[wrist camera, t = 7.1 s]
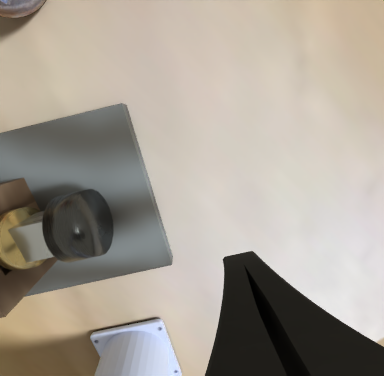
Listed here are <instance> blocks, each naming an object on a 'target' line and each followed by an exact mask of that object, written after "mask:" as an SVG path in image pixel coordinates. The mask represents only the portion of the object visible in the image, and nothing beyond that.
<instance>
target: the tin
mask: <svg viewBox="0 0 384 376" xmlns="http://www.w3.org/2000/svg"><path fill="white" fill-rule="evenodd" d="M45 1H46V0H0V16H2V17H8V18H19V17H24V16H27V15H30V14H31V13H33V12H35V11H36V10H38V9H39V8H40V7H41V6H42V5H43V4H44V2H45Z"/></svg>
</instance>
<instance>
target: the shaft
mask: <svg viewBox="0 0 384 376" xmlns="http://www.w3.org/2000/svg"><path fill="white" fill-rule="evenodd" d="M113 231H114V230H113V219H112V215H111V211H110V208H109V206H108V204H107V202H106V200H105V199H104V197H103V196H102V195H101V194H100V193H99V192H98V191H96V190H94V189H87V190H83V191H78V192H74V193H70V194H66V195H61V196H57V197H55V198H53V199H52V200H51V201H50V202H49V203H48V205H47V206H46V208H45V211H42V212H41V211H40V210H38V209H35V208H32V207H23V208H19V209H14V210H10V211H7V212H5V213H3V214H2V215H0V268H6V269H9V270H13V271H18V270H24V269H28V268H33V267H36V266H38V265H40V264H42V263H43V262H44V261H45V260H46V259H47V258H51V257H55V258H57V259H58V260H60V261H62V262H66V263H70V262H75V261H80V260H84V259H89V258H93V257H98V256H102V255H104V254H106V253H107V252H108V250H109V249H110V247H111V244H112V241H113Z"/></svg>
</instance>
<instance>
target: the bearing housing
mask: <svg viewBox="0 0 384 376" xmlns="http://www.w3.org/2000/svg"><path fill="white" fill-rule="evenodd" d="M87 189H94V190H96V191H98V192H99V193H100V194H101V195H102V196H103V197H104V199H105V200H106V202H107V204H108V206H109V208H110V211H111V215H112V219H113V230H114V231H113V241H112V244H111V247H110V249H109V250H108V252H107V253H106V254H104V255H102V256H98V257H93V258H89V259H84V260H80V261H75V262H70V263H66V262H62V261H60V260H58V259H57V258H55V257H51V258H47V259H46V260H45V261H44V262H43V263H42V264H40V265H38V266H36V267H33V268H28V269H24V270H18V271H13V270H9V269H6V268H0V318H2V317H6V316H7V314H8V313H9V312H10V311H11V310H12V309H13V308H14V307H15V306H16V305H17V304H18V303H19V301H20V300H21V299H22V298H23V297H25V296H30V295H34V294H39V293H44V292H48V291H53V290H58V289H62V288H67V287H72V286H76V285H81V284H85V283H90V282H95V281H99V280H104V279H109V278H113V277H118V276H123V275H127V274H132V273H136V272H141V271H146V270H150V269H155V268H160V267H164V266H169V265H172V259H173V256H172V253H171V249H170V246H169V243H168V240H167V236H166V233H165V230H164V227H163V223H162V220H161V217H160V213H159V210H158V207H157V204H156V200H155V197H154V194H153V191H152V187H151V184H150V181H149V177H148V174H147V171H146V168H145V164H144V161H143V158H142V155H141V151H140V148H139V145H138V141H137V138H136V135H135V132H134V128H133V125H132V122H131V118H130V115H129V112H128V109H127V105H125V104H122V103H121V104H117V105H113V106H109V107H105V108H101V109H97V110H93V111H89V112H85V113H81V114H77V115H72V116H68V117H64V118H60V119H56V120H52V121H48V122H44V123H40V124H36V125H32V126H28V127H24V128H20V129H16V130H12V131H8V132H4V133H0V215H2V214H3V213H5V212H7V211H10V210H14V209H19V208H23V207H32V208H35V209H38V210H40V211H41V212H42V211H45V208H46V206H47V205H48V203H49V202H50V201H51V200H52V199H53V198H55V197H57V196H61V195H66V194H70V193H74V192H78V191H83V190H87Z"/></svg>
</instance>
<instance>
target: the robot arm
mask: <svg viewBox="0 0 384 376" xmlns="http://www.w3.org/2000/svg"><path fill="white" fill-rule="evenodd" d="M223 263H224V289H223V299H222V306H221V312H220V318H219V323H218V328H217V333H216V337H215V341H214V345H213V349H212V353H211V356H210V360H209V364H208V367H207V371H206V374H205V376H384V347H383V346H381V345H379V344H378V343H376V342H374V341H372V340H371V339H369V338H367V337H365V336H364V335H362V334H361V333H359V332H357V331H356V330H354V329H352V328H351V327H349V326H348V325H346V324H344V323H343V322H341V321H340V320H338V319H337V318H335V317H334V316H332V315H331V314H329V313H328V312H326V311H325V310H323V309H322V308H320V307H319V306H318V305H316V304H315V303H313V302H312V301H311V300H309V299H308V298H307V297H305V296H304V295H303V294H301V293H300V292H299V291H297V290H296V289H295V288H294V287H292V286H291V285H290V284H289V283H287V282H286V281H285V280H284V279H283V278H281V277H280V276H279V275H278V274H277V273H276V272H274V271H273V270H272V269H271V268H270V267H269V266H268V265H267V264H266V263H265V262H263V261H262V260H261V259H260V258H259V257H258V256H257V255H256V254H255V253H254V252H253V251H250V252H245V253H240V254H236V255H231V256H227V257H224V259H223ZM90 339H91V341H92V343H93V344H94V346H95V348H96V350H97V352H98V354H99V356H100V361H99V363H98V366H97V369H96V372H95V375H94V376H182V372H181V369H180V367H179V364H178V361H177V358H176V356H175V353H174V350H173V347H172V345H171V342H170V339H169V337H168V334H167V331H166V328H165V326H164V323H163V321H162V320H161V319H155V320H150V321H145V322H140V323H135V324H130V325H126V326H121V327H116V328H111V329H106V330H101V331H97V332H93V333H92V334H91V337H90Z"/></svg>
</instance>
